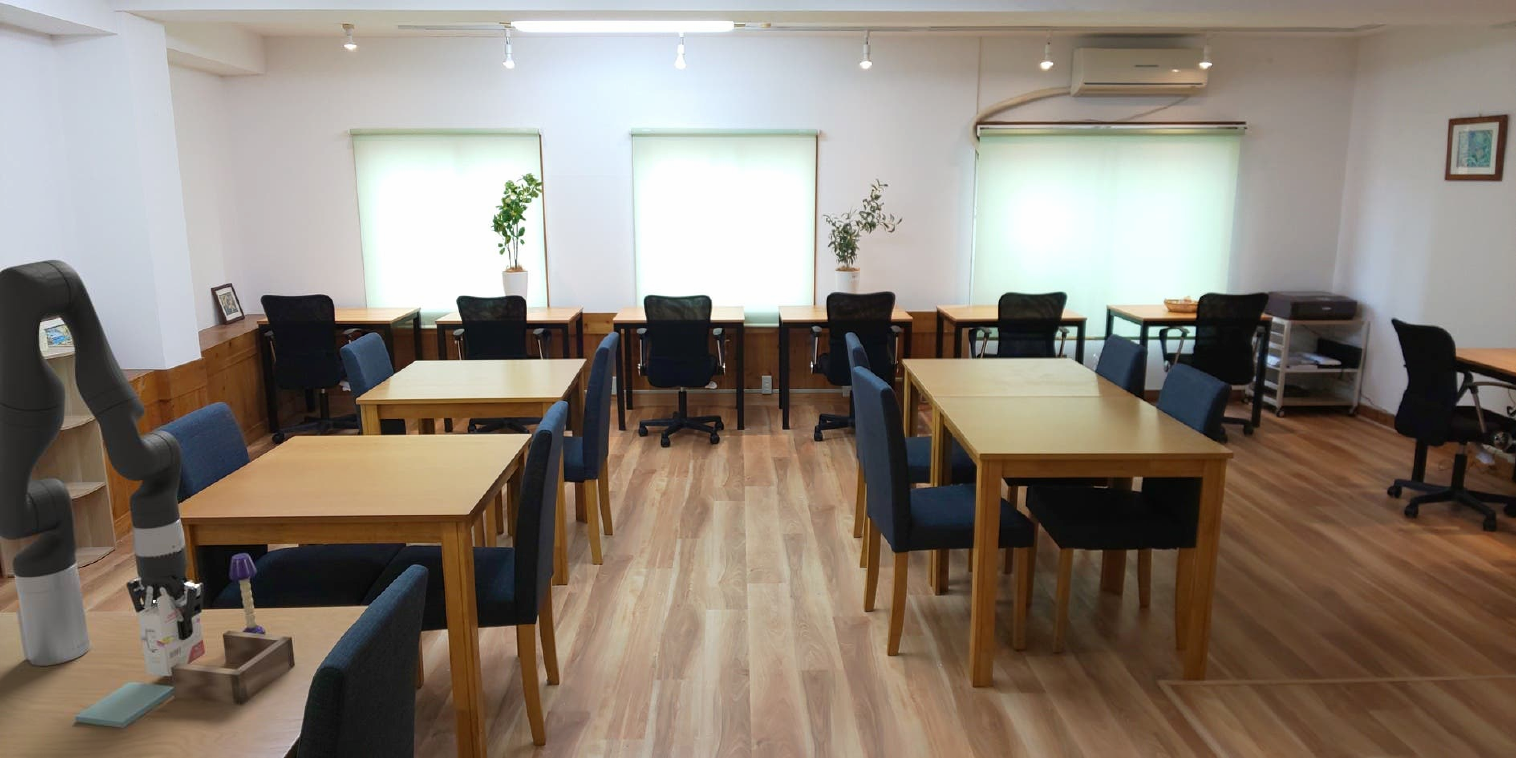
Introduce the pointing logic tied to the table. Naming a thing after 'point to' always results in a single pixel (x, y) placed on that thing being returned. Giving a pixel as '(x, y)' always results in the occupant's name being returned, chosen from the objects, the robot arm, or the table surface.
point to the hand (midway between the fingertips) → (172, 636)
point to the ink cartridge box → (167, 638)
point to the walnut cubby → (260, 668)
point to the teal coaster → (125, 704)
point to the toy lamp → (245, 588)
